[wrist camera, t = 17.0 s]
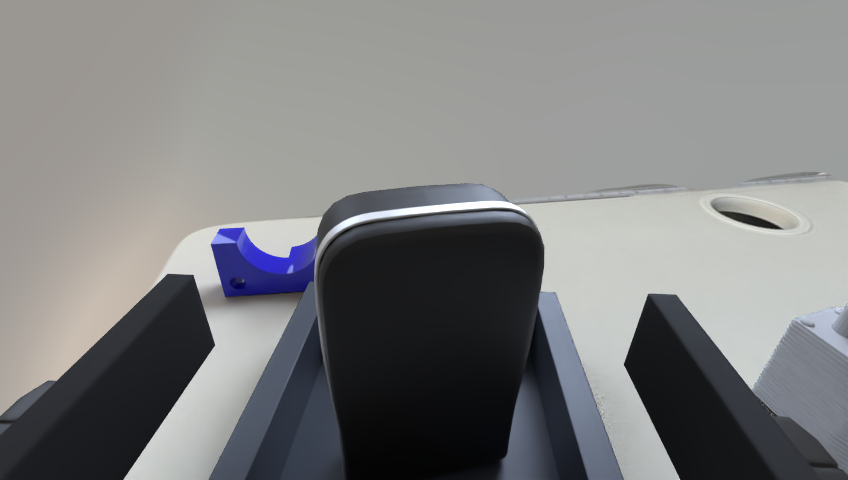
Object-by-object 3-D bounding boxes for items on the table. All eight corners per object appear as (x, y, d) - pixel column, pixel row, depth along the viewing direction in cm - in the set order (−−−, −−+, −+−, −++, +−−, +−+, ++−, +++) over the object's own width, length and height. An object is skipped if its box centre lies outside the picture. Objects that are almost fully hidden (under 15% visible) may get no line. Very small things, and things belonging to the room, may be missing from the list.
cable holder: (349, 260, 31) (345, 213, 30) (348, 288, 28) (343, 236, 26) (238, 267, 30) (226, 218, 28) (225, 296, 27) (210, 243, 25)
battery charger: (480, 389, 20) (507, 165, 15) (514, 462, 17) (564, 209, 12) (335, 419, 19) (302, 180, 13) (342, 505, 16) (303, 237, 10)
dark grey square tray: (197, 622, 13) (163, 566, 11) (316, 330, 25) (309, 281, 23) (633, 656, 12) (669, 604, 11) (545, 342, 24) (555, 291, 22)
